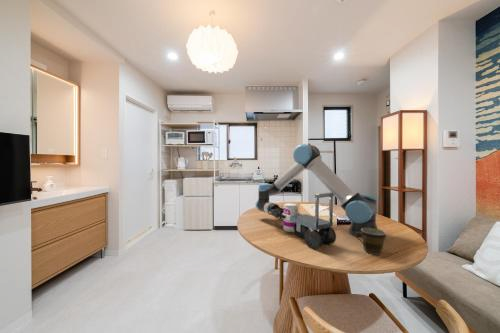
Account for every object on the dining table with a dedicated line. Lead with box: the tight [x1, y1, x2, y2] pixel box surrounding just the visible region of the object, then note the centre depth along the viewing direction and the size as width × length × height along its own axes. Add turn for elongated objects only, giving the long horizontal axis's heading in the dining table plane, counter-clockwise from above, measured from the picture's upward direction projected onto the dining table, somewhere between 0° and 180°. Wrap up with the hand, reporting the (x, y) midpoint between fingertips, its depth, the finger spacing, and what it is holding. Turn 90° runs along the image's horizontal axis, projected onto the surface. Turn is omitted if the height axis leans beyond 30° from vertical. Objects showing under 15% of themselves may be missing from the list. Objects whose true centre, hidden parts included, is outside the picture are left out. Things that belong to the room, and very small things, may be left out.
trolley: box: [290, 192, 337, 250], centre depth 111 cm, size 22×12×26 cm, turn 31°
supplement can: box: [282, 202, 299, 233], centre depth 125 cm, size 8×8×15 cm
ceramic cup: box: [354, 228, 387, 256], centre depth 99 cm, size 13×10×10 cm
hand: (296, 217), depth 121 cm, fingers closed on supplement can, 8 cm apart
